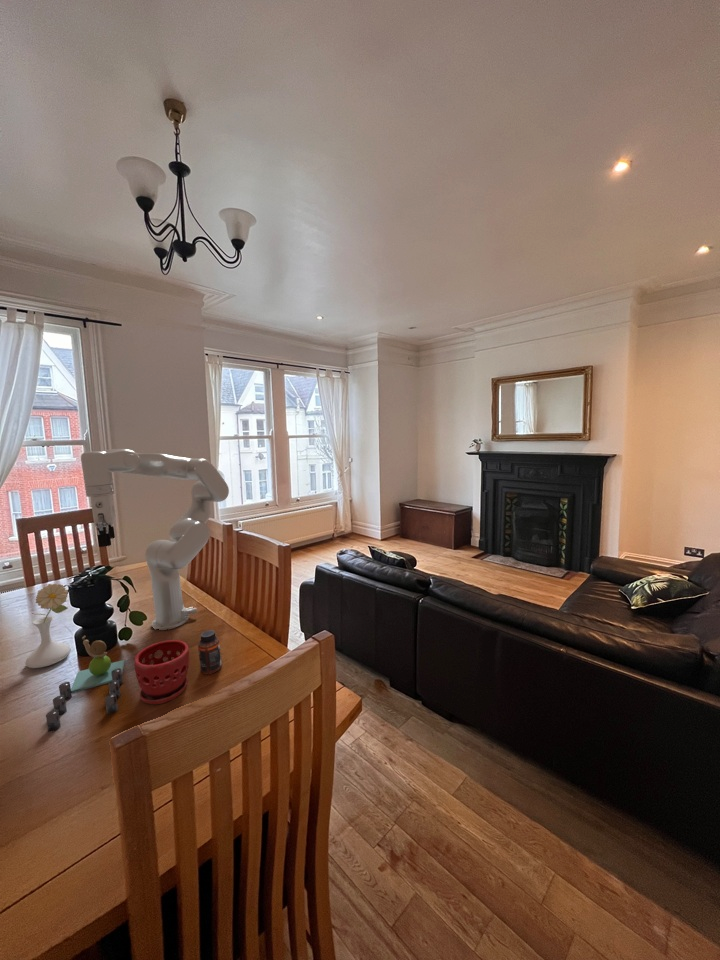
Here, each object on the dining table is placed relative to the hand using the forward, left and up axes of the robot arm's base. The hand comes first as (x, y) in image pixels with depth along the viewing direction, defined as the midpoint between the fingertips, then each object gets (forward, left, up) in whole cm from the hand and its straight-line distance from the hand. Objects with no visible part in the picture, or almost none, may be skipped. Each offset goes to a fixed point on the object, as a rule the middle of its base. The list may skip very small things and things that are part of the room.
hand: (107, 542), depth 125 cm
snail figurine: (+4, +16, -36) cm, 39 cm away
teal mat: (+4, +16, -36) cm, 40 cm away
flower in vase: (+19, -2, -36) cm, 41 cm away
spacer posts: (+5, +29, -36) cm, 46 cm away
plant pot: (-14, +34, -36) cm, 52 cm away
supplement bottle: (-26, +29, -36) cm, 53 cm away
